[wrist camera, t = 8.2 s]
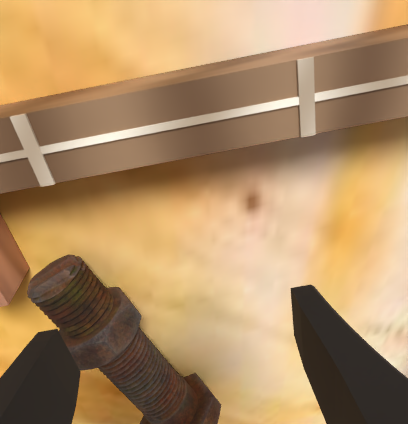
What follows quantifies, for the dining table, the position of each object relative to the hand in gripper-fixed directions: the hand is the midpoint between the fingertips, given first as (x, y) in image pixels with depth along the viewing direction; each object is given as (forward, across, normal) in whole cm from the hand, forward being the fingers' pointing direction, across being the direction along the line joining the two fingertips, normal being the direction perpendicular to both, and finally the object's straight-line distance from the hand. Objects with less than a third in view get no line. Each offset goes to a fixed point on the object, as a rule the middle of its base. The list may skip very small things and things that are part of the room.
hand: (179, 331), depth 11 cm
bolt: (+10, +5, +9) cm, 15 cm away
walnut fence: (+9, -2, -1) cm, 10 cm away
